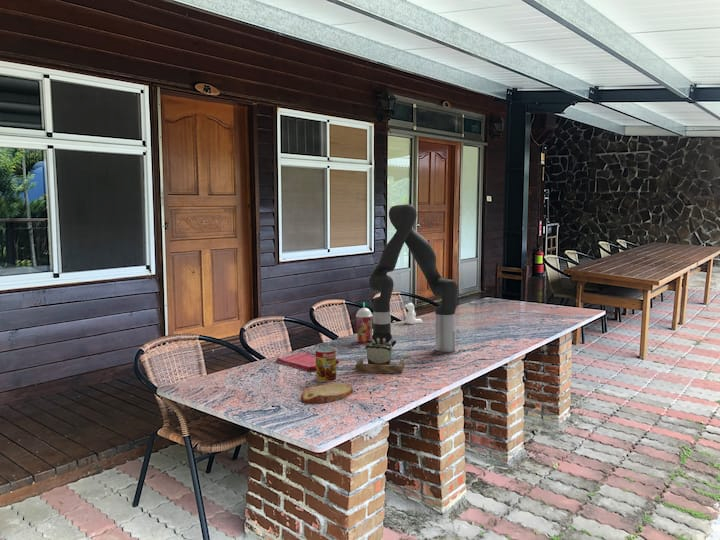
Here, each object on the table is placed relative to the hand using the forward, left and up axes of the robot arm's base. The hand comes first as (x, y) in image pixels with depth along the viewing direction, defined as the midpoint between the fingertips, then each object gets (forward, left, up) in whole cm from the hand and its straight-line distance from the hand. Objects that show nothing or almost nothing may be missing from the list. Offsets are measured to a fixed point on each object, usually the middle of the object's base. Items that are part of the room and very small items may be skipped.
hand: (382, 361), depth 256 cm
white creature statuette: (-4, -87, -2) cm, 87 cm away
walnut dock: (0, +6, -2) cm, 6 cm away
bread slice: (+14, +42, -2) cm, 44 cm away
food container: (0, +3, -2) cm, 3 cm away
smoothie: (+15, -39, -2) cm, 42 cm away
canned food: (+19, +23, -2) cm, 30 cm away
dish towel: (+33, +1, -2) cm, 33 cm away
